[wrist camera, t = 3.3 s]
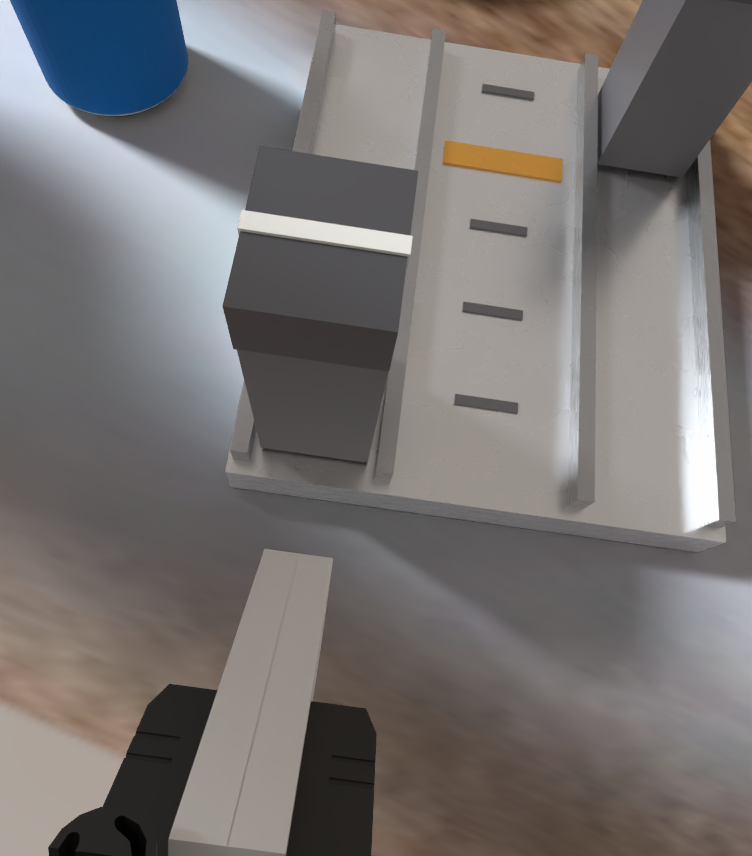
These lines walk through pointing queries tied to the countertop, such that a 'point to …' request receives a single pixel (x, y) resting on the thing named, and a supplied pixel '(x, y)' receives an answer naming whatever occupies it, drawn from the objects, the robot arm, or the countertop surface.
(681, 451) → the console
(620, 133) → the fader far
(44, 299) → the countertop surface
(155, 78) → the beverage can
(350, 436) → the fader near
